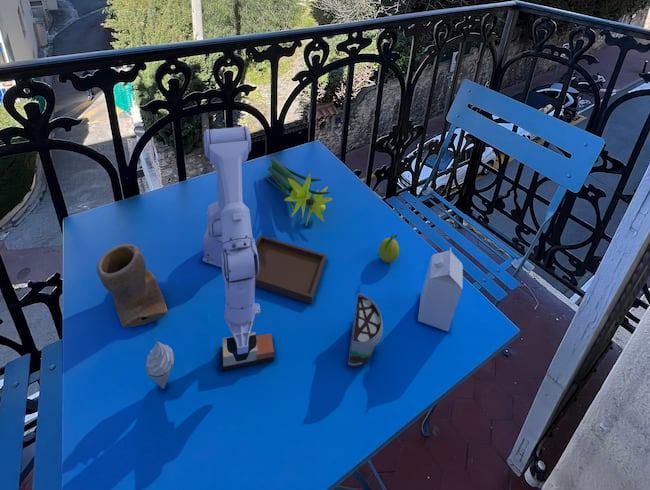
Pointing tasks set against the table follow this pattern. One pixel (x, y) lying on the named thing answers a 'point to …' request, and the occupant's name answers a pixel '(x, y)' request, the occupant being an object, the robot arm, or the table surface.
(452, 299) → the milk carton
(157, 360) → the ice cream cone
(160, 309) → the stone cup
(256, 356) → the beige and orange block
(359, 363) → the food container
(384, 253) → the yellow pear
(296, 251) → the brown serving tray
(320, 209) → the daffodil flowers
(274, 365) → the table surface
